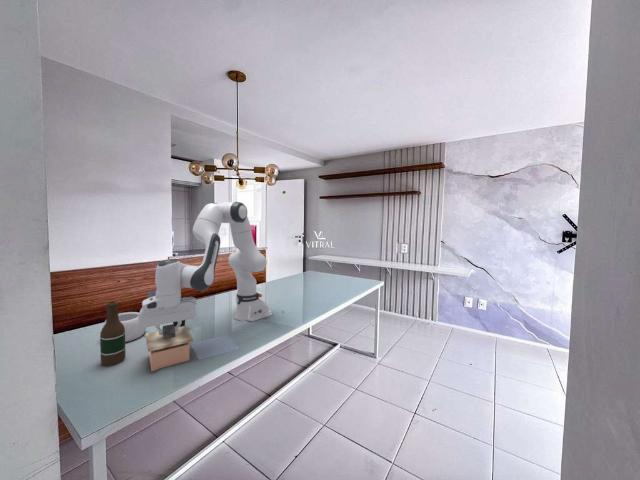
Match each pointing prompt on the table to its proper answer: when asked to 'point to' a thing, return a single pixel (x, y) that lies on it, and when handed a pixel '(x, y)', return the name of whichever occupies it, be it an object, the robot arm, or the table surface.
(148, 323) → the robot arm
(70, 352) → the table surface
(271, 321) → the table surface
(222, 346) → the slate mat
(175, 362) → the open square planter box
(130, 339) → the mug
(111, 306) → the beer bottle
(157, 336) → the birch lid
